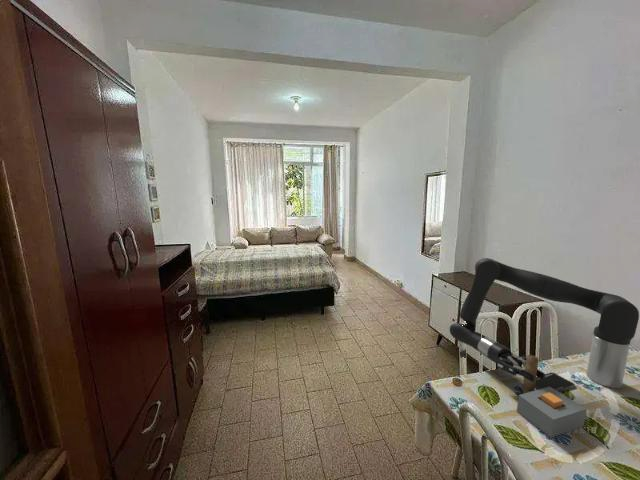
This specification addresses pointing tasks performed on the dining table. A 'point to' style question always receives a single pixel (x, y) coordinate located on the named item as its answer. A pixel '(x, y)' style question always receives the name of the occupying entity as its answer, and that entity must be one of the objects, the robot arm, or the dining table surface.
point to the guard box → (551, 412)
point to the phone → (554, 382)
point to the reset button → (551, 400)
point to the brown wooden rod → (532, 369)
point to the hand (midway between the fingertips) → (538, 377)
